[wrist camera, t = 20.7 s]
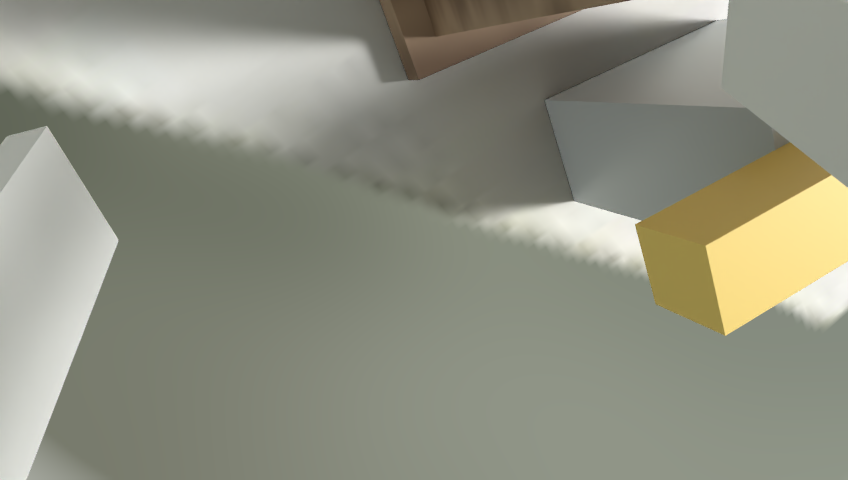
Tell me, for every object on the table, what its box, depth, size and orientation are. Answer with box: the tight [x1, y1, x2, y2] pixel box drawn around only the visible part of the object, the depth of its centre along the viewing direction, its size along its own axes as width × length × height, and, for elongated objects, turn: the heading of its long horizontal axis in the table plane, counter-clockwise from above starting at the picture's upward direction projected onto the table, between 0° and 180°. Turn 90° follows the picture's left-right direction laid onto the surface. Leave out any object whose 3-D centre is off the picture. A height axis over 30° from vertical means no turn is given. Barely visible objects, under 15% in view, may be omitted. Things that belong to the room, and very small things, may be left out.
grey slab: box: [545, 19, 789, 221], centre depth 41 cm, size 8×16×19 cm, turn 111°
